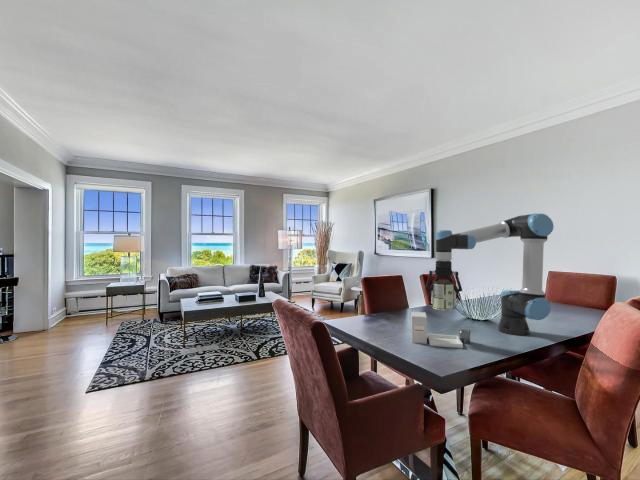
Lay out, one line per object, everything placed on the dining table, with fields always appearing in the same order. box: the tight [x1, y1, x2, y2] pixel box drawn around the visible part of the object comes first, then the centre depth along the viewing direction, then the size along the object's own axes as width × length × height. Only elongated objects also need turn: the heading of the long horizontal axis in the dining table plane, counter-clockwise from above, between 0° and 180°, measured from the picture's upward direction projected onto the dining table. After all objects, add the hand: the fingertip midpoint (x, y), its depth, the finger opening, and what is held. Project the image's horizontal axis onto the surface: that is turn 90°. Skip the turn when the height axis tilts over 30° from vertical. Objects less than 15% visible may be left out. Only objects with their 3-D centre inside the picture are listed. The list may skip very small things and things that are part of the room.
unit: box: [410, 311, 428, 345], centre depth 160 cm, size 7×12×13 cm, turn 165°
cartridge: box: [458, 328, 471, 345], centre depth 156 cm, size 5×5×6 cm
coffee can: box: [432, 279, 455, 312], centre depth 160 cm, size 10×10×14 cm
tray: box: [427, 333, 464, 349], centre depth 156 cm, size 15×15×2 cm
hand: (443, 304), depth 160 cm, fingers closed on coffee can, 10 cm apart
